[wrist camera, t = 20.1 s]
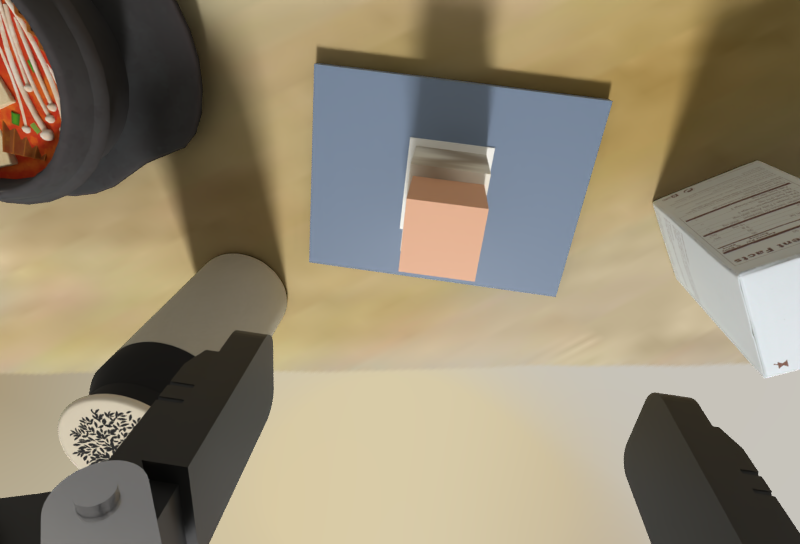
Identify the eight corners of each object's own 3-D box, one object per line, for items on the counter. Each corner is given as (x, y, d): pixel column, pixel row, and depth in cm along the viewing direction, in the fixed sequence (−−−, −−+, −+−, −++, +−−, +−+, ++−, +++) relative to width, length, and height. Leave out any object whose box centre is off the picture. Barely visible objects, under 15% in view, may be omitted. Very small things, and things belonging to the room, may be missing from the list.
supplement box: (777, 244, 37) (917, 342, 26) (673, 280, 39) (761, 384, 28) (759, 155, 34) (907, 220, 23) (649, 198, 36) (735, 277, 25)
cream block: (486, 154, 35) (490, 174, 31) (471, 232, 38) (473, 261, 33) (416, 145, 35) (410, 163, 31) (406, 223, 38) (400, 250, 34)
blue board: (608, 99, 34) (613, 101, 33) (553, 290, 41) (555, 297, 40) (318, 63, 34) (314, 64, 33) (312, 256, 41) (309, 262, 40)
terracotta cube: (484, 184, 31) (488, 209, 27) (472, 250, 33) (474, 281, 29) (412, 175, 31) (406, 198, 27) (405, 241, 33) (398, 271, 29)
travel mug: (181, 282, 44) (24, 433, 28) (242, 234, 41) (107, 371, 25) (244, 345, 46) (133, 517, 30) (306, 303, 43) (220, 467, 27)
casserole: (179, -105, 31) (91, -144, 23) (237, 186, 39) (186, 225, 32) (-171, -75, 34) (-348, -101, 26) (-47, 191, 42) (-155, 228, 35)
